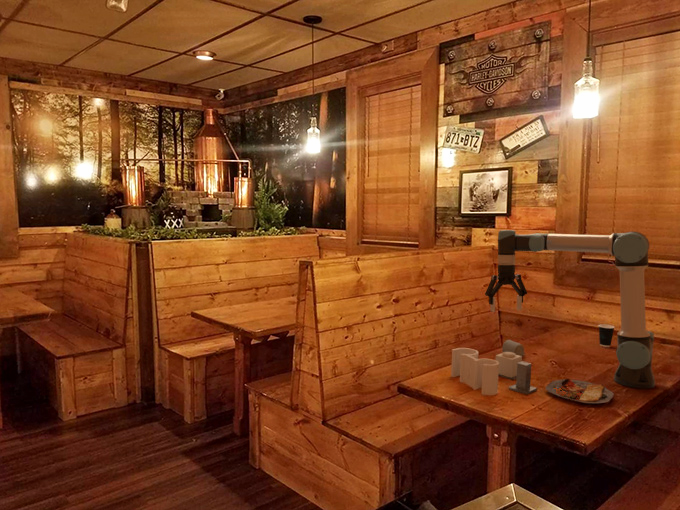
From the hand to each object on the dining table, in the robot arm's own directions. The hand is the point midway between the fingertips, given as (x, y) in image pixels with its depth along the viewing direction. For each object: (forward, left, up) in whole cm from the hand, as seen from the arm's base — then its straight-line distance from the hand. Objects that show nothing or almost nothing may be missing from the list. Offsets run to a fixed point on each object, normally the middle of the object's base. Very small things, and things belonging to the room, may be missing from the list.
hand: (506, 310), depth 236 cm
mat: (-7, +7, -26) cm, 28 cm away
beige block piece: (-7, +7, -26) cm, 28 cm away
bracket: (-5, +30, -27) cm, 40 cm away
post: (-21, +20, -26) cm, 39 cm away
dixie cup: (-15, -79, -27) cm, 85 cm away
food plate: (-38, +7, -27) cm, 47 cm away
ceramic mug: (+6, -22, -27) cm, 35 cm away
